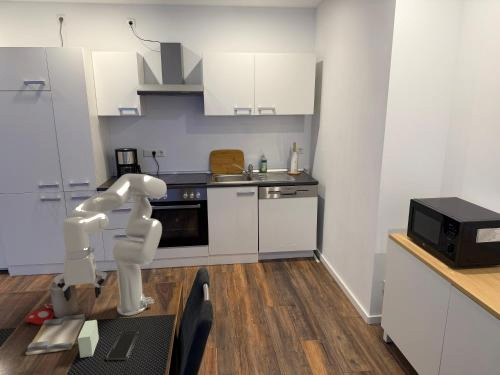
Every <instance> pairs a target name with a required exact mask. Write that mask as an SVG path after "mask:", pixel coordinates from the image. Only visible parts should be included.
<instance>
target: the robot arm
mask: <svg viewBox="0 0 500 375" xmlns="http://www.w3.org/2000/svg"><path fill="white" fill-rule="evenodd" d="M167 190H168V189H167V184H166V182H165V181H164V180H162V179H160V178H157V177H154V176H151V175H148V174H146V173H145V174H142V173H125V174H123V175H121V176H120V177H119V178H118V179H117V180H116V181H115V182H114V183H113V184H112V185H111V186H110V187H108V188H107V189H106V190H105V191H104V192H101V193H98V194H96V195H94V196H91V197H88V198H87V199H85V200H83V201H82V202H80V203H79V204H78V205H77V206H76V207H75V208H74V209H72V211H70V213H69V214H68V216H67V218H66V219H64V220H63V221H62V224H61V228H62V235H63V236H62V237H63V241H64V242H63V243H64V251H65V256H64V259H63V273H61V274H58V275H57V276H55V277H54V279H53V282H55V283H56V284H57V286H58V287H60V288H61V289H62V291H64V297H65V298H66V301H69V299H70V298H71V291H70V287H69V285H75V286H78V285H80V286H81V285H88V284H92V285H93V286H94V295H95V298H96V299H98V298H99V297H100V295H101V294H102V288H101V286H102V284H103V283H105V280H106V278H107V276H108V273H107V272H105V271H103V270H100V269H98V268H97V267H98V266H97V263H96V258H95V255H94V254H93V253H94V252H95V248H94V247H91V246H90V238H89V237H90V235H94V234H100V233H102V232H104V231H105V230H106V229H107V228H108V226H109V222H110V220H109V217H108V215H107V214H105V213H103V212H109V211H113V210H116V209H120V208H122V207H123V206H124V204H125V203H127V202H128V200H129V199H130V198H131V199H132V203H133V205H132V210H131V211H130V215H129V218H128V220H127V223H126V226H125V229H124V233H125V236H126V237H127V238H129V239H122V240H118V241H117V242H115V244H114V245H113V248H112V256H113V260H114V263H115V266H116V272H117V274H116V275H117V284H118V293H119V294H118V295H119V304H118V305H117V307H116V311H117V313H118V314H119V315H121V316H129V317H130V316H134V315H135V316H136V315H139V314H140V313H142V312H144V311H145V310H146V308H147V307H148V304H150V305H151V304H154V298H152V297H151V296H148V297H146V296H145V294H144V293H143V282H142V270H141V266H142V265H144V266H146V265H149V264H151V263H152V261H153V260H154V257H155V256H156V253H157V249H158V247H159V243H160V240H161V237H162V234H163V226H162V223H161V221H159V220H158V219H156V218H151V216H152V214H153V213H152V212H153V207H152V205H151V204H150V203H151V202H150V201H149V199H162V198H163V197H165V195H166V193H167ZM130 239H132V240H130ZM133 239H134V240H133ZM140 240H142V241H140ZM98 276H99V277H101V279H99V278H98ZM60 279H64V282H65V284H64V283H63V282H61V280H60Z"/></svg>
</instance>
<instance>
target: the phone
mask: <svg viewBox="0 0 500 375" xmlns="http://www.w3.org/2000/svg"><path fill="white" fill-rule="evenodd" d="M139 336H140V332H139V331H124V332H123V331H122V332H119V333H118V334H117V336H116V338H115V340H114V342H113V344H112V345H111V347H110V349H109V351H108V353H107V355H106V356H105V360H126V361H127V359H129V358H130V356H131V354H132V352H131V351H133V350H134V347H135V345H136V343H137V341H138V338H139ZM136 340H137V341H136ZM135 342H136V343H135ZM132 349H133V350H132ZM130 353H131V354H130ZM129 355H130V356H129Z"/></svg>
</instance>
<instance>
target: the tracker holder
mask: <svg viewBox="0 0 500 375" xmlns="http://www.w3.org/2000/svg"><path fill="white" fill-rule="evenodd" d="M43 305H44V306H43V308H41V309H38V310H35V311H33V312H30V313H29V314H28V315H27V316H26V321H25V322H26V323H27V324H29V323H32V324H35V325H41V326H43V323H44V321H45V320H50V319H54V317H55V316H54V311H52V310H53V305H52V303H44V304H43Z"/></svg>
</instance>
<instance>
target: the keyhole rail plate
mask: <svg viewBox="0 0 500 375" xmlns="http://www.w3.org/2000/svg"><path fill="white" fill-rule="evenodd" d="M85 316H86V315H85V314H84V313H83V314H73V315H71V316H65V317H63V318H53V319H50V320H45V321H44V323H43V324H42V325H41V327H40V329H39V330H38V331H37V333H36V335H35V337H34V338H33V339H32V341H31V342H30V343H29V344H28V346H27V348H26V349H27V351H26V352H25V355H26V356H29V355H36V354H37V355H38V354H39V355H40V354H47V353H52V352H54V353H55V352H61V351H66V350H67V351H68V350H72V348H73V346H74V344H75V343H76V340H77V339H78V337H79V334H80V332H81V330H82V328H83V325H84V323H85V321H86V317H85Z"/></svg>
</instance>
